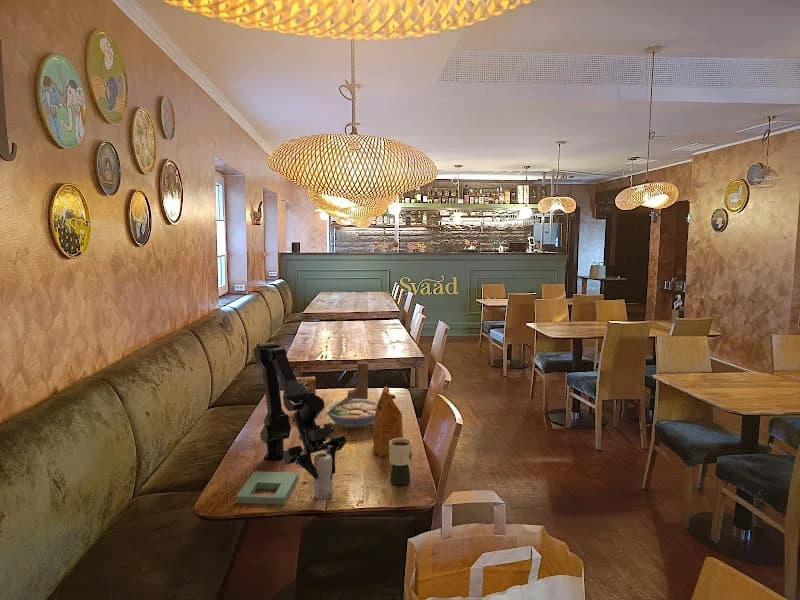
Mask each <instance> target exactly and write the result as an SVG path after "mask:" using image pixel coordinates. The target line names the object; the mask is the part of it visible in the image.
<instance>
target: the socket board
mask: <svg viewBox="0 0 800 600" xmlns="http://www.w3.org/2000/svg"><path fill="white" fill-rule="evenodd" d="M298 480H299V472H292V471H289V472H288V471H265V470H264V471H258V470H254V471H253V473H252V474H251V475H250V477H248V479H247V481H246V482H245V484H244V485H243V486H242V487H241V489H240V490H239V491H238V492H237V494H236V496H235V502H236V504H254V505H256V504H258V505H259V504H260V505H284V504H285V505H286V504H287V502H288V499H289V497H290V496H289V495H291V494H292V491H293V490H294V488H295V486H296V484H297V482H298ZM258 489H259V490H276V492H274V494H272V495H271V494H255V493H256V491H257V490H258Z"/></svg>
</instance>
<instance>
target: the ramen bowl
mask: <svg viewBox="0 0 800 600" xmlns="http://www.w3.org/2000/svg"><path fill="white" fill-rule="evenodd" d="M350 396H351V394H350V395H348V394H347V396H346V397H345V398H344V399H341V400H335V401H334V402H331V403H329V404H328V405H327V406H326V407H325V410H326V412H327V413H326V416H329V418H330V419H331V420H332V421H333V422H334V423H336V424H338V425H339V426H342V427H345V428H349V429H353V430H354V429H355V430H357V429H361V428H362V427H366V426H369V425H371V424H374V418H375V414H376V408H377V404H378V402H377V401H376V400H371V399H368V400H367V399H352V398H353V397H355V395H353V396H351V397H350ZM349 397H350V398H349ZM348 398H349V399H348Z"/></svg>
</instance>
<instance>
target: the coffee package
mask: <svg viewBox="0 0 800 600" xmlns="http://www.w3.org/2000/svg"><path fill="white" fill-rule="evenodd" d="M395 399H396V395H394V394H392V393H390V388H389V387H388V386H387V385H386V386H384V387H383V389H382V392H381V394H380V397H379V399H378V404H377V408H376V414H375V418H374V422H373V433H372V434H373V435H372V443H373V449H374V452H375V453H376V454H377V455H378V456H379V457H385V456H389V441H390V440H392V439H395V438H404V433H403V414H402V411H400V409H399V407H398V406H397V404H396V403H395V401H394V400H395Z"/></svg>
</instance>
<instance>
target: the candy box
mask: <svg viewBox="0 0 800 600" xmlns="http://www.w3.org/2000/svg"><path fill="white" fill-rule="evenodd" d="M295 377H296V376H295ZM296 379H297V381H298V383H300V384H302V385H303V386H304V387H305V389H306V390H307V392H308V393H311V392H314V395H316V392H317V391H316V377H315V376H298V377H296ZM316 396H317V395H316ZM299 410H300V409H299ZM299 410H294V414H295V413H296V412H297V411H299Z"/></svg>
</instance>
